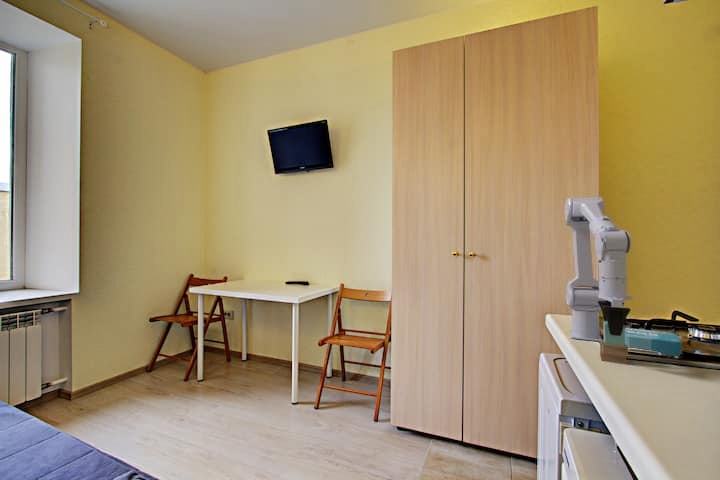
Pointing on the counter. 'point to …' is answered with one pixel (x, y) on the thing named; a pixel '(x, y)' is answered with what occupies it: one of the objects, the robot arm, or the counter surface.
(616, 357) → the walnut slab lower
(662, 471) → the counter surface
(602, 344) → the walnut slab upper
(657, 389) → the counter surface
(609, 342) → the teal block
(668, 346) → the data package
